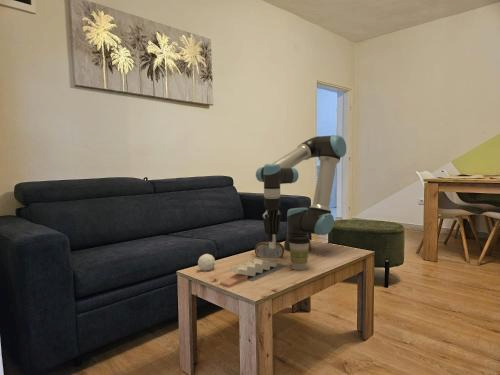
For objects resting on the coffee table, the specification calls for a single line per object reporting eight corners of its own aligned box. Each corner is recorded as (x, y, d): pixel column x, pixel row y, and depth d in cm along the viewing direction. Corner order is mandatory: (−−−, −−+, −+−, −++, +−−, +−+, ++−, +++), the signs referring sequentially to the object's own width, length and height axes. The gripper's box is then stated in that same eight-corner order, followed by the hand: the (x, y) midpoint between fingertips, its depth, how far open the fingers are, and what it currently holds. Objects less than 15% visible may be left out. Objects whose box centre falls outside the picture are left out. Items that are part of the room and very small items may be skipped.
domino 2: (246, 269, 146) (230, 266, 138) (255, 272, 143) (239, 269, 135) (245, 273, 146) (229, 271, 138) (254, 276, 143) (238, 273, 135)
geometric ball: (210, 275, 155) (220, 260, 156) (204, 274, 148) (215, 259, 149) (198, 265, 158) (208, 251, 159) (192, 264, 150) (202, 249, 151)
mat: (269, 262, 164) (269, 261, 164) (288, 267, 157) (288, 265, 157) (232, 277, 144) (232, 275, 144) (252, 283, 137) (252, 281, 137)
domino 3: (254, 266, 150) (238, 263, 142) (262, 269, 147) (247, 266, 139) (253, 270, 150) (237, 268, 142) (262, 273, 147) (246, 270, 139)
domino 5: (268, 261, 158) (254, 258, 150) (276, 263, 155) (263, 260, 147) (267, 265, 158) (253, 262, 150) (276, 267, 155) (262, 264, 146)
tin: (284, 257, 172) (284, 241, 172) (284, 259, 169) (284, 243, 168) (255, 257, 174) (254, 241, 173) (254, 259, 171) (254, 242, 170)
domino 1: (238, 272, 142) (220, 281, 134) (247, 275, 139) (229, 284, 131) (238, 276, 143) (220, 286, 134) (247, 279, 139) (229, 289, 131)
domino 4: (261, 264, 154) (246, 261, 146) (270, 266, 151) (255, 263, 143) (260, 268, 154) (245, 265, 146) (269, 270, 151) (254, 267, 142)
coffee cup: (294, 274, 148) (293, 240, 147) (285, 267, 157) (284, 235, 156) (313, 271, 151) (314, 238, 150) (304, 265, 160) (304, 234, 159)
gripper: (273, 195, 161) (274, 244, 163) (256, 198, 151) (257, 249, 153) (286, 196, 156) (286, 246, 158) (270, 199, 146) (270, 252, 148)
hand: (272, 248), depth 156 cm, fingers closed
